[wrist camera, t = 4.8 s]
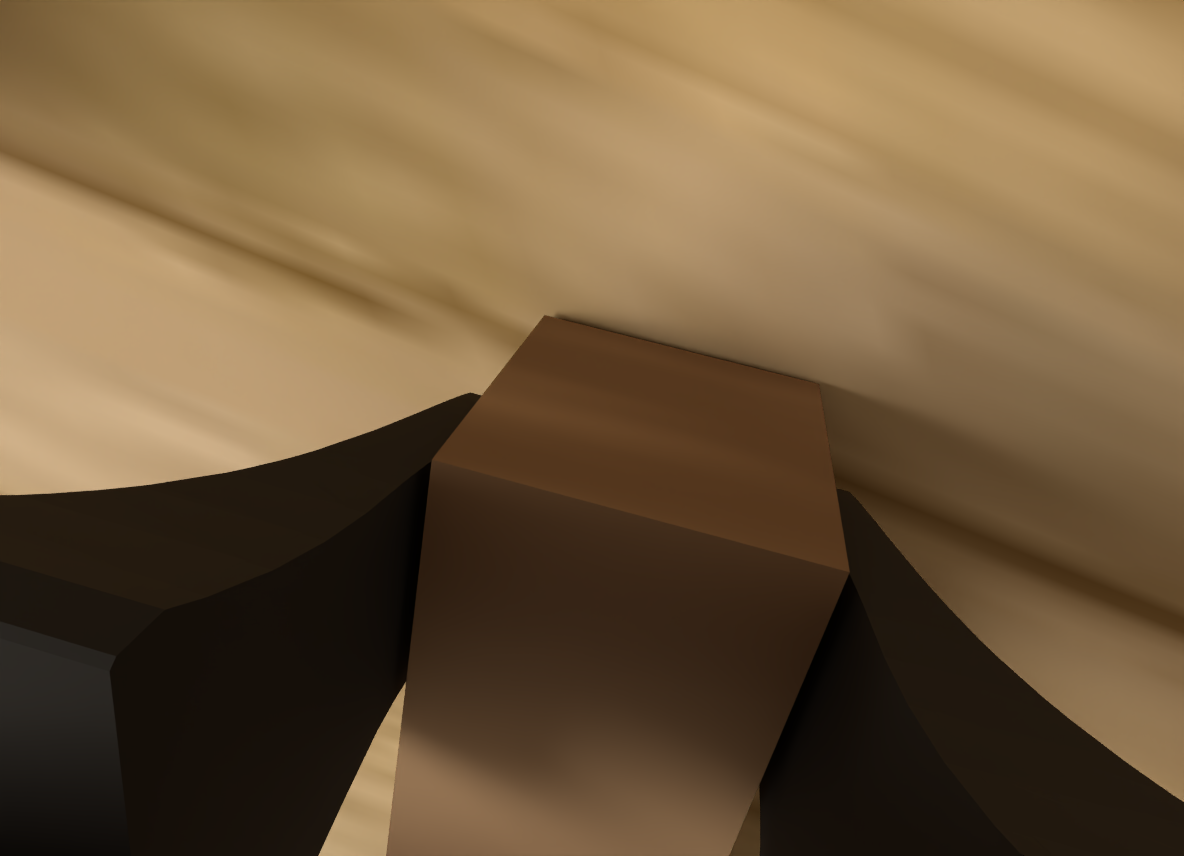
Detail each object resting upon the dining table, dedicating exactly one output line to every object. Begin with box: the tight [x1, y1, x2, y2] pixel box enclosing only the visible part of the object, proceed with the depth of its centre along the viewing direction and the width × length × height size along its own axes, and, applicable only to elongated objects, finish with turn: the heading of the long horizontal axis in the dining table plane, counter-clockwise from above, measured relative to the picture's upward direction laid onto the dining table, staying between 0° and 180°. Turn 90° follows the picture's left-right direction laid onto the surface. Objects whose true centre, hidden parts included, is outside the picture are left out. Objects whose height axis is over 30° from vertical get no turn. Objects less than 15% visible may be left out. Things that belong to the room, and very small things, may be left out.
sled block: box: [386, 315, 850, 856], centre depth 13 cm, size 14×4×4 cm, turn 169°
